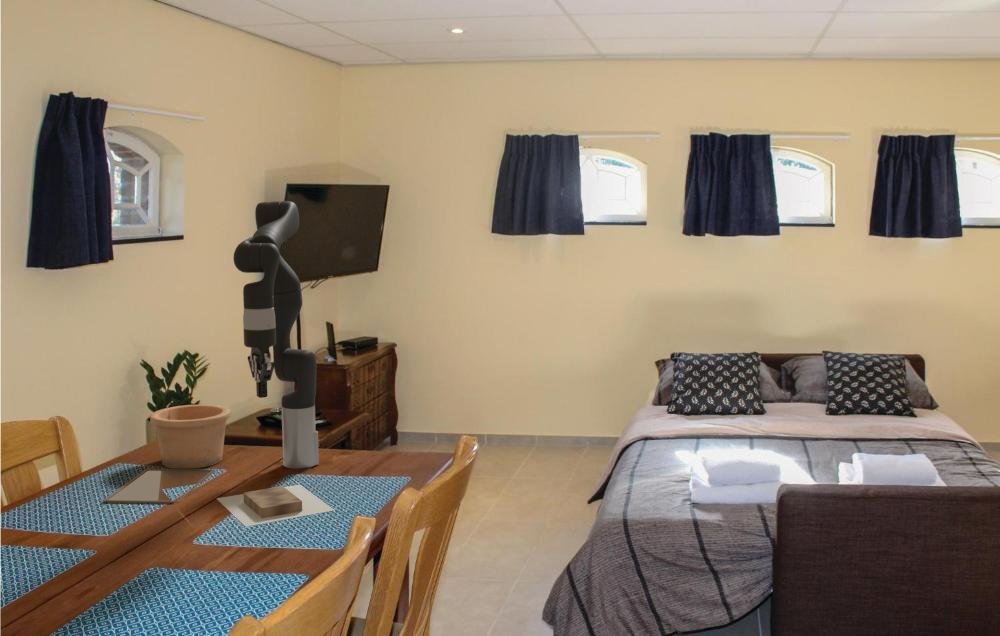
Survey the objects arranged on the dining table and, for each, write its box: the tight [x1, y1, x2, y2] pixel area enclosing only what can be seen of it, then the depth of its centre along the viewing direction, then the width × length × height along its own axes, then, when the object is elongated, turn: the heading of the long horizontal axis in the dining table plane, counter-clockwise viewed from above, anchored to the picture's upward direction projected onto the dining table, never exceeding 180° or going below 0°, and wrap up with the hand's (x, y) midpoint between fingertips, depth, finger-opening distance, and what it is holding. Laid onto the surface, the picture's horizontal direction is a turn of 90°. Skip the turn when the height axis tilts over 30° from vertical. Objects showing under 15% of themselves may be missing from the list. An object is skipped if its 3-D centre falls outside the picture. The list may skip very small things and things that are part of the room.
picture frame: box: [102, 468, 216, 505], centre depth 251 cm, size 19×1×28 cm
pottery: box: [149, 403, 231, 469], centre depth 273 cm, size 22×22×14 cm
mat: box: [216, 484, 335, 528], centre depth 235 cm, size 22×24×1 cm
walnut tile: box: [243, 485, 302, 518], centre depth 233 cm, size 10×2×14 cm
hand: (262, 396), depth 230 cm, fingers closed
